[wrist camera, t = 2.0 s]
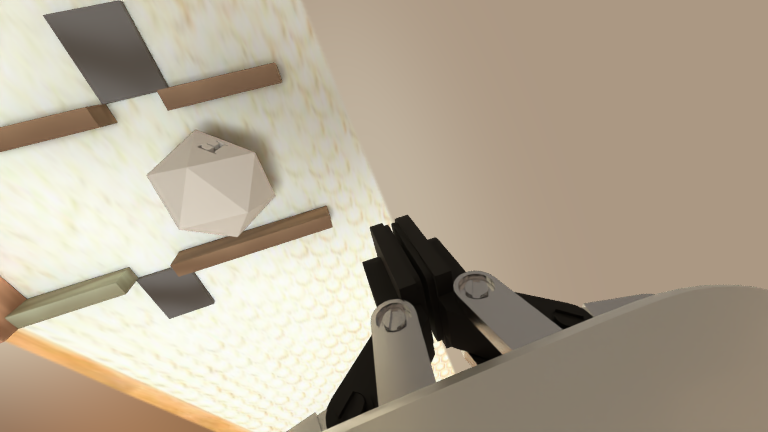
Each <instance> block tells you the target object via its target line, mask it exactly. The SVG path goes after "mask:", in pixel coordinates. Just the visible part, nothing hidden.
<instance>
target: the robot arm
mask: <svg viewBox="0 0 768 432" xmlns="http://www.w3.org/2000/svg"><path fill="white" fill-rule="evenodd" d="M391 225H392V230H393V232H392V231H391V229H390V227H389V226H388V225H386V226H384V225H383V224H382V223H381V224H378V225H375V226H372V227H370V231H371V235H372V238H373V242H374V245H375V249H376V253H377V256H378V257H376V258H373V259H370V260H367V261H365V262H362V263H363V266H364V270H365V273H366V276H367V279H368V282H369V285H370V288H371V291H372V294H373V297H374V300H375V303H376V306H377V308H376V309H375V310H374V312H373V314H372V316H371V331H372V335H371V337H370V339H369V340H368V342H367V343H366V345H365V347H364V348H363V350H362V351H361V353H360V354H359V356H358V358H357V359H356V361H355V362H354V364H353V365H352V367H351V369H350V370H349V372H348V373H347V375H346V377H345V378H344V380H343V381H342V383H341V384H340V386H339V388H338V389H337V391H336V392H335V394H334V395H333V397H332V399H331V401H330V403H329V405H328V407H327V409H326V410H325V411H323V412H322V413H320V414H319V415H317V414H316V413H313V414H312V415H310V416H309V417H307V418H306V419H305V420H303V421H302V422H300V423H299V424H297V425H296V426H294V427H293V428H291V429H290V430H288V431H287V432H768V290H767V289H762V288H757V287H752V286H742V285H704V286H695V287H688V288H681V289H676V290H672V291H667V292H664V293H659V294H656V295H655V294H639V295H634V296H627V297H621V298H615V299H609V300H602V301H596V302H590V303H584V304H583V307H582V308H580V307H578V306H576V305H573V304H569V303H565V302H560V301H555V300H550V299H545V298H541V297H536V296H531V295H526V294H521V293H516V292H513V291H512V290H511V289H509V288H508V287H507V286H506V285H504V284H503V283H502V282H500V281H499V280H498V279H497V278H495V277H494V276H492V275H491V274H489V273H486V272H482V271H468V272H465V270H464V269H463V268H462V267H461V266H460V264H459V263H458V262H457V261H456V260H455V259H454V257H453V256H452V255H451V254H450V253H449V252H448V250H447V249H446V248H445V247H444V246H443V245H442V243H441V242H440V241H439V240H438V239H437V238H432V239H429V240H427V239H426V237H425V236H424V235H423V234H422V232H421V231H420V230H419V228H418V227H417V226H416V225H415V223H414V222H413V221H412V220H411V218H410V217H409V216H408V215H405V216H402V217H399V218H396V219H395V223H392V224H391ZM431 330H432V331H431ZM432 332H433V334H434V336H435V338H436V340H437V341H441V340H442V341H443V343H444V344H445V346H446V348H449V347H454V348H457V349H460V350H462V354H463V356H464V357H465V359H466V360H467V361H468V363H469V364H470V365H471V366H472V368H470V369H467V370H465V371H462V372H460V373H458V374H455V375H453V376H450V377H448V378H445V379H443V380H441V381H438V382H436V381H435V377H434V374H433V370H432V367H431V362H432V360H433V357H434V355H435V351H434V346H433V343H434V341H433V336H432Z"/></svg>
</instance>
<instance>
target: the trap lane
mask: <svg viewBox="0 0 768 432" xmlns="http://www.w3.org/2000/svg"><path fill="white" fill-rule="evenodd" d="M43 16H44V18H45V19H46V21H47V22H48V24H49V25H50V27H51V28H52V30H53V31H54V33H55V34H56V36H57V37H58V39H59V40H60V42H61V43H62V45H63V46H64V48H65V49H66V51H67V52H68V54H69V55H70V57H71V58H72V60H73V61H74V63H75V64H76V66H77V67H78V69H79V70H80V72H81V73H82V75H83V76H84V78H85V79H86V81H87V82H88V84H89V85H90V87H91V88H92V90H93V91H94V93H95V94H96V96H97V97H98V99H99V100H100V102H101V103H102V105H96V106H90V107H84V108H80V109H76V110H71V111H67V112H63V113H59V114H55V115H50V116H46V117H42V118H38V119H33V120H29V121H25V122H21V123H17V124H12V125H8V126H4V127H0V152H2V151H6V150H10V149H14V148H19V147H23V146H27V145H31V144H35V143H39V142H43V141H47V140H51V139H55V138H59V137H63V136H67V135H71V134H75V133H79V132H83V131H87V130H91V129H96V128H100V127H103V126H107V125H110V124H114V123H117V121H116V119H115V118H114V116H113V115H112V113H111V112H110V110H109V109H108V107H107V106H106V104H107V103H111V102H116V101H120V100H124V99H128V98H132V97H137V96H141V95H145V94H149V93H153V92H158V94H159V96H160V97H161V99H162V101H163V103H164V104H165V106H166V108H167V110H168V111H169V110H173V109H177V108H181V107H185V106H189V105H193V104H197V103H201V102H205V101H209V100H213V99H217V98H221V97H225V96H229V95H233V94H237V93H241V92H246V91H250V90H254V89H258V88H262V87H266V86H270V85H274V84H278V83H281V82H282V79H281V76H280V73H279V71H278V68H277V65H276V63H270V64H266V65H262V66H258V67H253V68H249V69H245V70H241V71H236V72H232V73H228V74H224V75H220V76H215V77H211V78H207V79H203V80H198V81H194V82H190V83H186V84H181V85H177V86H173V87H168V85H167V84H166V82H165V80H164V78H163V76H162V74H161V73H160V71H159V69H158V67H157V65H156V63H155V61H154V60H153V58H152V56H151V54H150V52H149V50H148V48H147V47H146V45H145V43H144V41H143V39H142V37H141V36H140V34H139V32H138V30H137V28H136V26H135V24H134V23H133V21H132V19H131V17H130V15H129V13H128V12H127V10H126V8H125V6H124V4H123V2H122V1H114V2H108V3H103V4H98V5H93V6H88V7H83V8H77V9H72V10H67V11H62V12H57V13H51V14H46V15H43ZM332 227H333V226H332V222H331V218H330V215H329V212H328V209H327V206H324V207H321V208H318V209H315V210H311V211H308V212H305V213H302V214H299V215H295V216H292V217H289V218H286V219H283V220H279V221H276V222H273V223H270V224H267V225H263V226H260V227H257V228H254V229H250V230H247V231H244V232H242V233H241V234H240V235H239V236H238V237H233V236H228V237H225V238H222V239H218V240H215V241H212V242H209V243H206V244H202V245H199V246H196V247H193V248H190V249H186V250H183V251H180V252H179V253H178V255H177V256H176V258H175V259H174V261H173V262H172V264H171V265H170V266H171V267H172V268H168V269H165V270H162V271H159V272H156V273H153V274H150V275H146V276H143V277H140V278H138V277H137V276H136V275H135V274H134V273H133V271H132V270H131V269H130V268H125V269H122V270H119V271H116V272H113V273H109V274H106V275H103V276H100V277H97V278H93V279H90V280H87V281H84V282H81V283H77V284H74V285H71V286H68V287H65V288H61V289H58V290H55V291H52V292H48V293H45V294H42V295H39V296H36V297H32V298H29V299H26V298H25V297H24V296H22V295H21V294H20V293H19V292H18V291H17V290H15V289H14V288H13V287H12V286H11V285H10V284H8V283H7V282H6V281H5V280H4V279H2V278H1V277H0V343H2V342H4V341H5V340H7V339H8V338H9V337H10V336H11V335H12V334H13V333H14V332H15V331H16V330H17V329H19V328H22V327H25V326H28V325H32V324H35V323H38V322H41V321H44V320H47V319H50V318H53V317H56V316H59V315H63V314H66V313H69V312H72V311H75V310H78V309H81V308H84V307H87V306H90V305H93V304H97V303H100V302H103V301H106V300H109V299H112V298H115V297H118V296H121V295H124V294H126V293H127V292H128V291H129V289H130V288H131V287H132V286H133V284H134V283H135V282H136V281H137V282H138V283H139V284H140V285H141V286H142V288H143V289H144V290H145V291H146V292H147V293H148V295H149V296H150V297H151V298H152V299H153V300H154V302H155V303H156V304H157V305H158V306H159V307H160V309H161V310H162V311H163V312H164V313H165V314H166V315H167V317H168V318H169V319H171V318H174V317H177V316H179V315H182V314H185V313H188V312H191V311H194V310H197V309H200V308H203V307H206V306H209V305H212V304H214V302H215V301H214V300H213V298H212V297H211V295H210V294H209V293H208V291H207V290H206V288H205V287H204V286H203V284H202V283H201V281H200V280H199V279H198V277H197V276H196V274H195V273H194V272H196V271H199V270H202V269H205V268H208V267H211V266H214V265H217V264H220V263H223V262H226V261H230V260H233V259H236V258H239V257H242V256H245V255H248V254H251V253H254V252H257V251H261V250H264V249H267V248H270V247H273V246H276V245H279V244H282V243H285V242H288V241H291V240H295V239H298V238H301V237H304V236H307V235H310V234H313V233H316V232H319V231H322V230H326V229H329V228H332Z"/></svg>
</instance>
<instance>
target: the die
mask: <svg viewBox="0 0 768 432" xmlns="http://www.w3.org/2000/svg"><path fill="white" fill-rule="evenodd" d="M146 176H147V177H148V179H149V180H150V182H151V184H152V185H153V187H154V189H155V190H156V192H157V194H158V195H159V197H160V199H161V200H162V202H163V204H164V205H165V207H166V209H167V210H168V212H169V214H170V215H171V217H172V219H173V220H174V222H175V224H176V225H177V227H178V229H179V230H186V231H194V232H202V233H210V234H218V235H226V236H233V237H238V236H239V235H240V234H241V233H242V232H243V231H244V230H245V228H246V227H247V226H248V225H249V224H250V223H251V222H252V221H253V220H254V219H255V218H256V216H257V215H258V214H259V213H260V212H261V211H262V210H263V209H264V208H265V207H266V206H267V205H268V203H269V202H270V201H271V200H272V199H273V198H274V197H275V193H274V191H273V189H272V187H271V185H270V183H269V181H268V179H267V176H266V174H265V172H264V170H263V168H262V166H261V164H260V162H259V160H258V157H257V155H256V153H255V152H253V151H250V150H248V149H245V148H243V147H240V146H237V145H235V144H232V143H229V142H227V141H224V140H221V139H219V138H216V137H214V136H211V135H208V134H206V133H203V132H200V131H198V130H194V131H193V132H192V133H191V134H190V135H189V136H188V137H187V138H186V139H185V140H184V141H183V142H182V143H181V144H179V145H178V146H177V147H176V148H175V149H174V150H173V151H172V152H171V153H170V154H169V155H168V156H167V157H166V158H164V159H163V160H162V161H161V162H160V163H159V164H158V165H157V166H156V167H155V168H154V169H153V170H152V171H150V172H149V173H148V174H147V175H146Z"/></svg>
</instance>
